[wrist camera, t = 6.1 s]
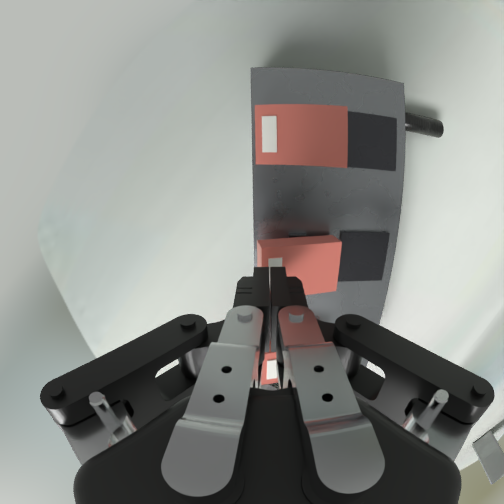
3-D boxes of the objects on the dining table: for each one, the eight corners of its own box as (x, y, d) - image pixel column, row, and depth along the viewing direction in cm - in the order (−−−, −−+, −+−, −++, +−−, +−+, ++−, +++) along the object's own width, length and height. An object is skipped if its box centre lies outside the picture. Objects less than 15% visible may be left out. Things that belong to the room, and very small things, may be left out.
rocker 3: (332, 235, 15) (342, 242, 14) (327, 281, 16) (336, 291, 15) (257, 240, 15) (261, 248, 14) (257, 289, 16) (261, 301, 15)
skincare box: (471, 443, 38) (488, 486, 23) (493, 427, 36) (512, 468, 21) (473, 448, 40) (488, 487, 25) (493, 433, 38) (510, 471, 23)
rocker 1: (321, 332, 18) (328, 344, 17) (316, 363, 19) (321, 374, 18) (258, 342, 17) (261, 355, 16) (258, 373, 18) (261, 385, 17)
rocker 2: (345, 109, 12) (347, 106, 11) (345, 166, 13) (347, 168, 12) (260, 108, 13) (254, 104, 12) (261, 163, 14) (255, 164, 13)
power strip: (433, 105, 15) (467, 101, 11) (397, 342, 24) (413, 372, 19) (253, 83, 16) (250, 65, 12) (257, 350, 24) (255, 386, 20)
